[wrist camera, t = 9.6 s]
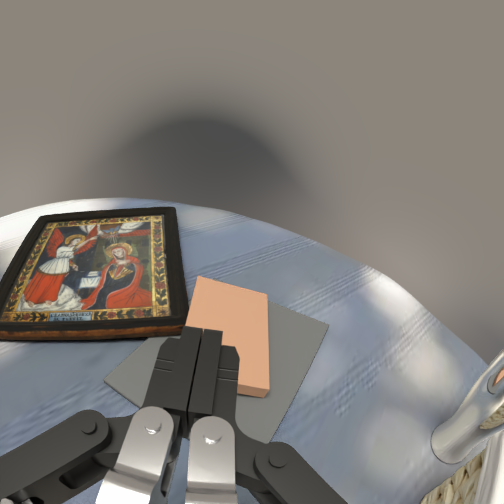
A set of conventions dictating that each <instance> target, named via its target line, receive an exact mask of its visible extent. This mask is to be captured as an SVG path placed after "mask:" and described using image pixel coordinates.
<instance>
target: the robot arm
mask: <svg viewBox="0 0 504 504" xmlns="http://www.w3.org/2000/svg"><path fill="white" fill-rule="evenodd" d="M222 337H223V331H219V330H212V329H205V328H204V331H203V328H197V327H190V326H184V327H183V329H182V333H181V337H180V339H178V338H171V337H168V338H167V339H166V340H165V342H164V343H163V344H162V345H161V346H160V348H159V352H158V355H157V360H156V362H155V365H154V369H153V372H152V375H151V378H150V382H149V385H148V389H147V392H146V396H145V399H144V402H143V405H142V406H141V408H140V409H139V410H138V411H137V412H135V413H134V414H132V415H130V416H126V417H115V418H105V417H104V416H103V415H102V414H101V413H99V412H97V411H95V410H83V411H80V412H78V413H76V414H75V415H73V416H71V417H70V418H68V419H66V420H65V421H63V422H61V423H59V424H58V425H56V426H54V427H53V428H51V429H49V430H47V431H46V432H44V433H42V434H40V435H39V436H37V437H35V438H33V439H31V440H30V441H28V442H26V443H24V444H23V445H21V446H19V447H17V448H15V449H14V450H12V451H10V452H8V453H6V454H4V455H3V456H1V457H0V504H62V503H64V502H65V501H67V500H69V499H71V498H72V497H74V496H76V495H77V494H79V493H81V492H82V491H84V490H86V489H87V488H89V487H90V486H92V485H94V484H95V483H97V482H98V481H100V480H102V479H103V478H104V480H103V483H102V486H101V488H100V491H99V494H98V497H97V500H96V503H95V504H168V496H169V492H170V488H171V484H172V480H173V476H174V472H175V468H176V465H177V461H178V457H179V452H180V446H181V440H182V438H189V432H190V448H189V463H188V481H187V489H186V498H185V504H238V502H237V493H236V488H235V484H237V485H239V486H242V487H244V488H247V489H248V490H249V491H250V493H251V494H252V495H253V496H254V497H255V498H256V500H257V501H258V502H259V503H260V504H348V503H347V502H346V501H345V500H344V499H343V498H342V497H341V496H340V495H338V494H337V493H336V492H335V491H334V490H333V489H332V488H331V487H330V486H329V485H328V484H327V483H326V482H325V481H324V480H323V479H322V478H321V477H320V476H319V475H318V473H317V472H316V471H315V470H314V469H313V468H312V467H311V466H310V465H309V464H308V463H307V462H306V461H305V460H304V459H303V458H302V457H301V456H300V455H299V453H298V452H297V451H296V450H295V449H294V448H293V447H291V446H290V445H288V444H286V443H283V442H270V443H267V444H266V443H263V442H260V441H258V440H255V439H252V438H250V437H248V436H247V435H245V434H244V433H243V432H242V431H241V430H240V429H239V428H238V426H237V423H236V420H235V412H236V400H237V388H238V375H239V363H240V357H239V354H238V352H237V350H236V347H235V346H227V345H222Z"/></svg>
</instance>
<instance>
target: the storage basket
mask: <svg viewBox="0 0 504 504" xmlns="http://www.w3.org/2000/svg"><path fill="white" fill-rule="evenodd" d="M420 504H504V430H503V431H499V432H497V433H496V434H494V435H493V436H491V437H490V438H489V440H488V442H487V447H486V448H485V449H484V450H483V451H482V452H481V453H480V454H478V455H477V456H475V457H474V459H472V460H471V461H469V462H468V463H467V464H466V466H463V467H461V468H459V469H458V470H457V471H456V472H455V474H454V475H453V476H452V477H450V478H447V479H446V480H445V481H444V482H443V483H442V484H441V485H440V486H437V487H436V488H435V489H434V490H432V491H431V492H430V493H428V494H427V495H425V496H424V498H423V500H422V501H421V503H420Z"/></svg>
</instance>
